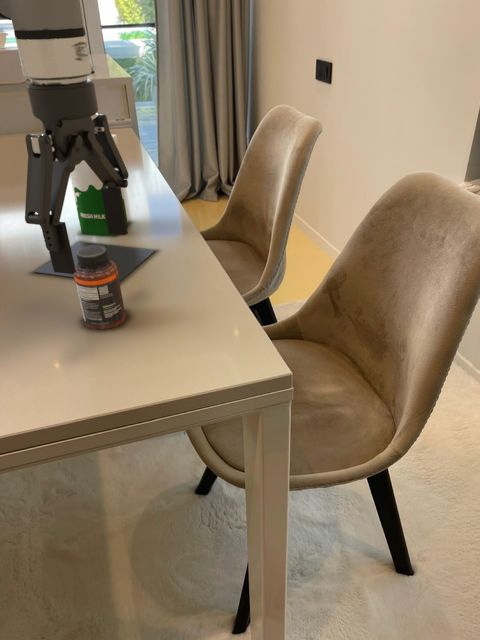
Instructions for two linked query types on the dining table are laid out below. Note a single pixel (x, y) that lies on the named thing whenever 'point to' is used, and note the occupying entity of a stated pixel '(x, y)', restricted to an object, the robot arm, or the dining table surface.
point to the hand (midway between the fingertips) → (93, 251)
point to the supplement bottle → (98, 288)
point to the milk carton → (91, 199)
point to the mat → (121, 256)
